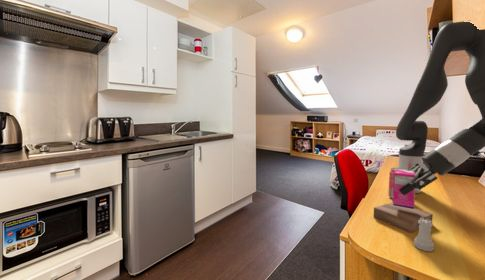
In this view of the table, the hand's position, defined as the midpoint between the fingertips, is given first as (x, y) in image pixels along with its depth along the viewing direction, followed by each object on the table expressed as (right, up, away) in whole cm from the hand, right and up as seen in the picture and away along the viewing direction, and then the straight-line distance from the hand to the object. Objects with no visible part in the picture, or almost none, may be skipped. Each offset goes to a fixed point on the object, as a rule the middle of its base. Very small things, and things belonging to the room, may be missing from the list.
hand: (398, 189), depth 76 cm
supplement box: (+2, -5, 0) cm, 6 cm away
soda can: (+14, -9, +21) cm, 27 cm away
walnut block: (+2, -11, +1) cm, 12 cm away
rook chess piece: (-3, -13, -15) cm, 20 cm away
